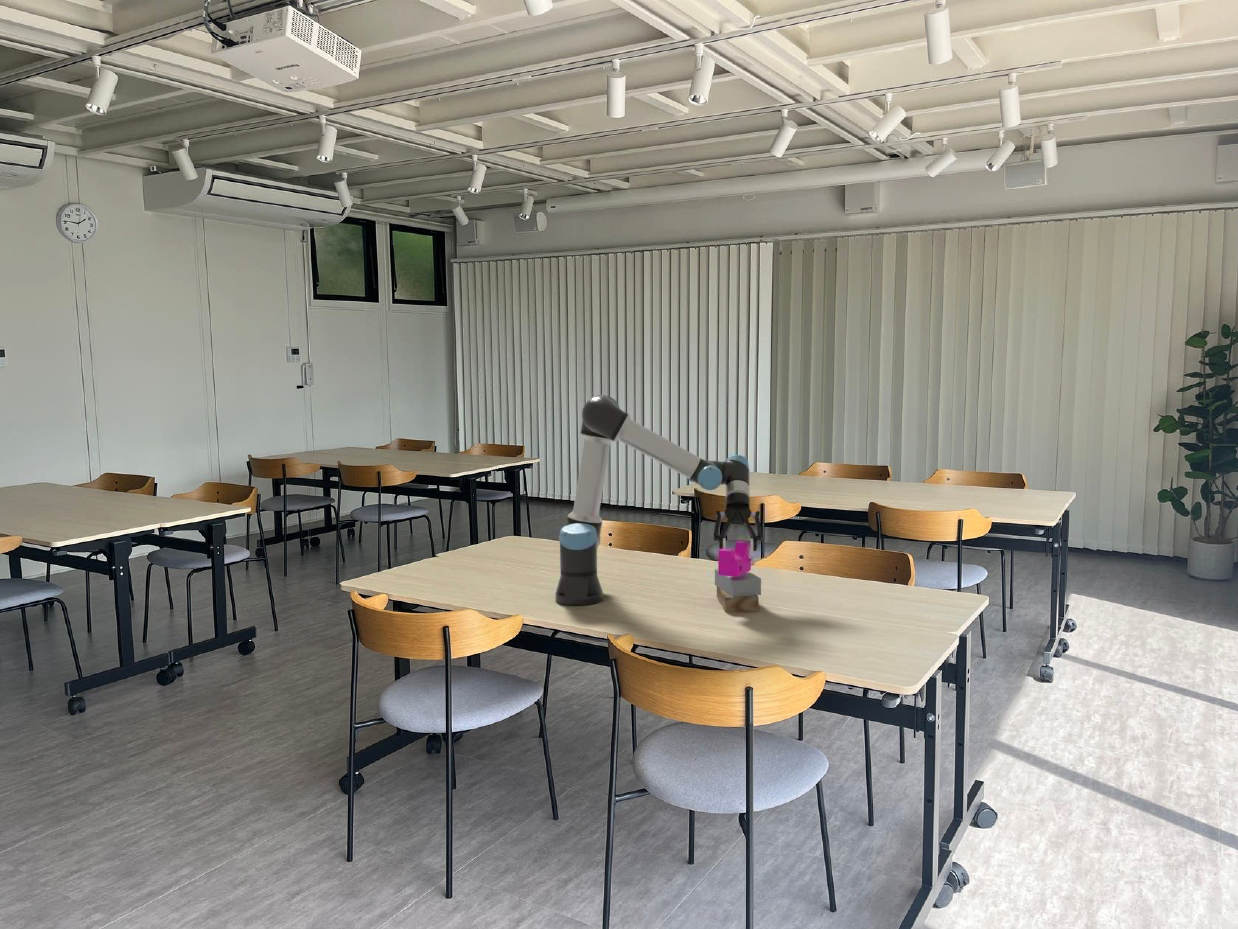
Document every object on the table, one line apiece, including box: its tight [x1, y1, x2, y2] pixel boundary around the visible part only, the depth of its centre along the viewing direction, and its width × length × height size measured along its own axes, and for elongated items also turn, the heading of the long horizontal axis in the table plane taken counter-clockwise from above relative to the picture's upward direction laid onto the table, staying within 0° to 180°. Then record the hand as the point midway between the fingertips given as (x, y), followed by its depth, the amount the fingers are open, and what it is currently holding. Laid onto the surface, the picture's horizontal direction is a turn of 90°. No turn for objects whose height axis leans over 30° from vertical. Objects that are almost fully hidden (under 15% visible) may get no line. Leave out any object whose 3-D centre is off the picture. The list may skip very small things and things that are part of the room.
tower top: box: [714, 568, 762, 597], centre depth 282 cm, size 9×16×5 cm, turn 14°
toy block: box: [717, 541, 752, 577], centre depth 277 cm, size 15×6×8 cm, turn 150°
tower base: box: [716, 586, 760, 613], centre depth 282 cm, size 10×18×5 cm, turn 2°
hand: (738, 558), depth 277 cm, fingers closed on toy block, 8 cm apart
